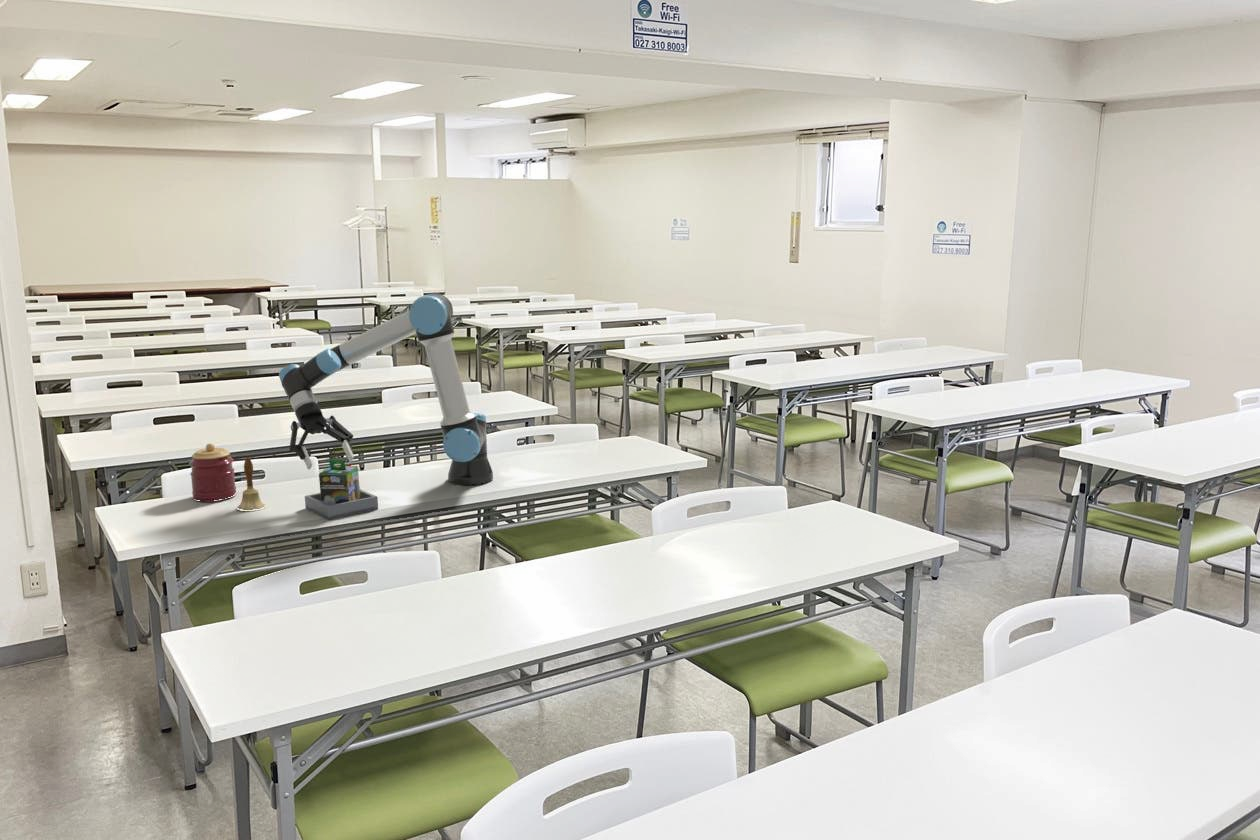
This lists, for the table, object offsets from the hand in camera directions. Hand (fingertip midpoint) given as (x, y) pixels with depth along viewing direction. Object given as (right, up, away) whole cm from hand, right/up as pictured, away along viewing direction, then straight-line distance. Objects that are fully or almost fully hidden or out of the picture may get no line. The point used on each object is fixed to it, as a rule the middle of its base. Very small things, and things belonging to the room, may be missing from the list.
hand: (331, 463), depth 297 cm
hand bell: (-25, -14, +2) cm, 29 cm away
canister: (-42, -12, +14) cm, 45 cm away
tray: (+3, -14, 0) cm, 14 cm away
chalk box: (+3, -13, 0) cm, 14 cm away
